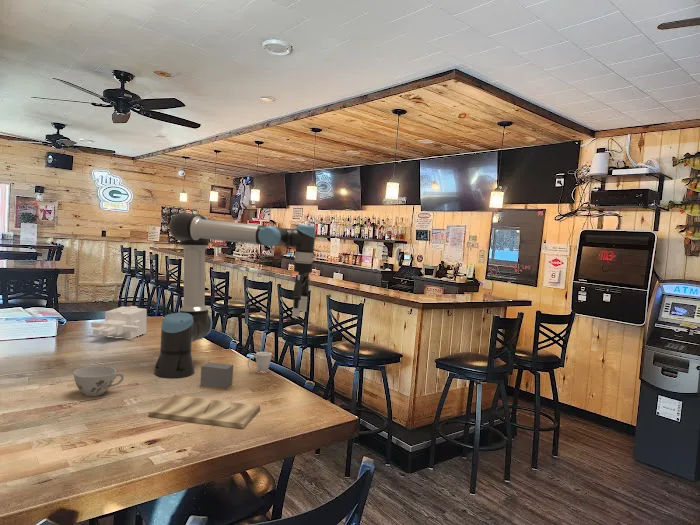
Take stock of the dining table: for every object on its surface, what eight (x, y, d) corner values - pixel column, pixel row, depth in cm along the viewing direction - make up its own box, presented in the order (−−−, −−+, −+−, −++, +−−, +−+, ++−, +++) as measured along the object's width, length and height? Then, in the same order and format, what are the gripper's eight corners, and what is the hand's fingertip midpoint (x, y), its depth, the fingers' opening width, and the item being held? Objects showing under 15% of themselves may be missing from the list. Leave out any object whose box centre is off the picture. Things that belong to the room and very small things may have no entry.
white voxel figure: (76, 344, 225) (114, 330, 253) (124, 350, 222) (156, 334, 249) (76, 315, 223) (114, 303, 251) (124, 320, 220) (156, 308, 248)
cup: (272, 374, 194) (274, 355, 194) (248, 375, 190) (250, 356, 190) (268, 369, 201) (270, 351, 201) (245, 370, 197) (246, 351, 197)
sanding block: (200, 387, 172) (201, 366, 171) (207, 382, 178) (208, 362, 177) (225, 390, 170) (227, 369, 170) (232, 385, 176) (233, 364, 176)
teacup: (71, 401, 148) (72, 377, 148) (73, 389, 159) (74, 366, 159) (123, 397, 155) (124, 374, 155) (122, 386, 166) (123, 364, 166)
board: (148, 416, 141) (148, 411, 141) (174, 399, 157) (174, 395, 157) (242, 428, 137) (243, 423, 137) (260, 410, 153) (260, 405, 153)
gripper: (306, 264, 177) (301, 319, 178) (318, 262, 202) (314, 310, 203) (287, 262, 178) (282, 317, 179) (301, 260, 203) (297, 308, 204)
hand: (299, 313), depth 191 cm, fingers open, 13 cm apart
